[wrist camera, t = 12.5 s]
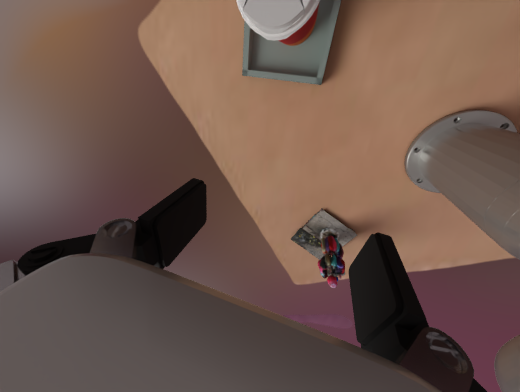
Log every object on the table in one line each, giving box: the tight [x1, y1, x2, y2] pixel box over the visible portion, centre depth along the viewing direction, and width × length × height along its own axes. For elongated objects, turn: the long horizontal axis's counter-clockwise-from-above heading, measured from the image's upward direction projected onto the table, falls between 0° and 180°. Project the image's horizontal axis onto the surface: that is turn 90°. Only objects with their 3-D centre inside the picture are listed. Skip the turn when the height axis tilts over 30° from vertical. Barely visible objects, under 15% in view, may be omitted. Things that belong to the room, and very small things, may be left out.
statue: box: [291, 208, 357, 288], centre depth 37 cm, size 11×9×15 cm
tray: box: [242, 0, 341, 85], centre depth 25 cm, size 12×14×2 cm
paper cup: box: [236, 0, 320, 46], centre depth 20 cm, size 8×8×14 cm
